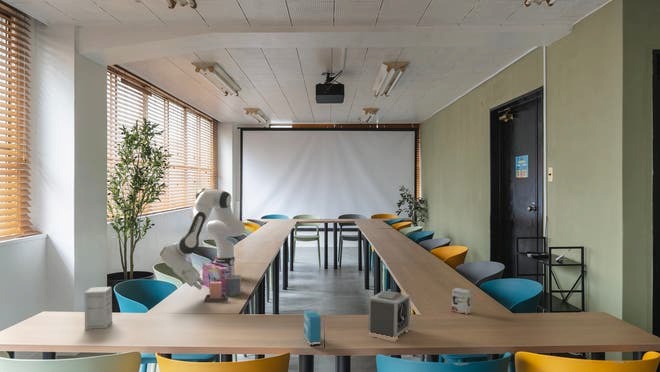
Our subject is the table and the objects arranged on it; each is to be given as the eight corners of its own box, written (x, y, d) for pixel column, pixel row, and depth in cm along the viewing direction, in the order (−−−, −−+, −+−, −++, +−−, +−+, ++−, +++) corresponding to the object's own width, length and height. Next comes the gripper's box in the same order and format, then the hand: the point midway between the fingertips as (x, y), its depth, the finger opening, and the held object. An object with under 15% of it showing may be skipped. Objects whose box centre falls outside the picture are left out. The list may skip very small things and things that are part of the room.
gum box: (200, 284, 292) (200, 263, 292) (212, 282, 297) (212, 261, 297) (220, 291, 275) (220, 269, 274) (231, 289, 280) (231, 267, 280)
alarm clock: (394, 342, 195) (395, 299, 195) (366, 336, 202) (367, 294, 202) (410, 329, 211) (411, 290, 210) (384, 324, 218) (385, 286, 217)
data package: (303, 337, 200) (303, 309, 200) (313, 336, 201) (313, 308, 201) (310, 347, 188) (310, 318, 188) (320, 346, 190) (321, 317, 189)
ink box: (451, 311, 240) (451, 289, 239) (455, 309, 243) (455, 287, 243) (466, 315, 234) (466, 292, 233) (470, 313, 237) (471, 290, 237)
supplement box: (112, 321, 217) (112, 286, 217) (106, 328, 208) (106, 291, 208) (91, 322, 216) (90, 287, 215) (83, 329, 207) (83, 292, 206)
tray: (204, 302, 252) (204, 298, 252) (206, 297, 261) (206, 294, 261) (225, 301, 253) (225, 298, 253) (226, 297, 262) (226, 294, 262)
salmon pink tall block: (209, 299, 255) (209, 283, 255) (210, 297, 258) (210, 281, 258) (220, 299, 256) (220, 283, 256) (221, 297, 259) (221, 281, 259)
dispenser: (211, 296, 263) (211, 279, 262) (213, 292, 272) (213, 275, 272) (239, 296, 265) (240, 278, 265) (240, 291, 275) (240, 274, 274)
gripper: (185, 269, 244) (204, 287, 246) (191, 261, 264) (208, 278, 266) (176, 277, 243) (195, 295, 245) (183, 269, 264) (200, 286, 265)
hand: (202, 286), depth 256 cm, fingers open, 8 cm apart
